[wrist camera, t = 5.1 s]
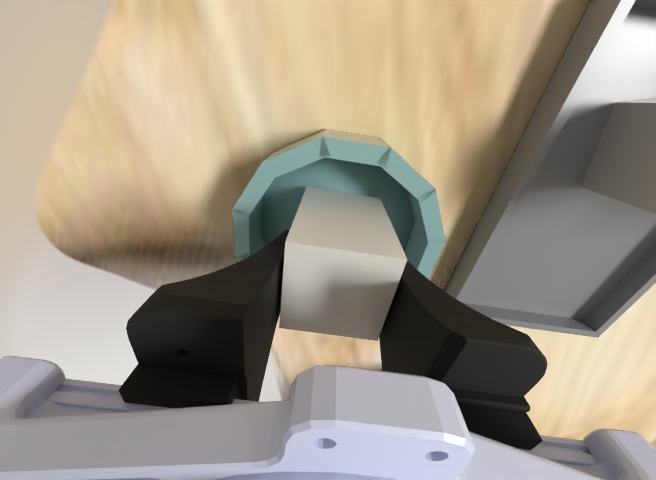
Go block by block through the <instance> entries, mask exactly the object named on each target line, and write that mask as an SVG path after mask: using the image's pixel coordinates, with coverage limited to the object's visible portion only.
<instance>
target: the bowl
mask: <svg viewBox="0 0 656 480" xmlns="http://www.w3.org/2000/svg"><path fill="white" fill-rule="evenodd" d="M306 187H313V188H320V189H326V190H333V191H339V192H345V193H352V194H358V195H365V196H371V197H378V198H380V199H381V201H382V203H383V206H384V208H385V210H386V212H387V215H388V217H389V219H390V221H391V224H392V226H393V228H394V230H395V233H396V235H397V237H398V239H399V242H400V244H401V246H402V249H403V251H404V253H405V255H406V258H407V261H409V262H410V263H411V264H412V265H413V266H414V267H415V268H416V269H417V270H418V271H419V272H420V273H422V274H423V275H424V276H425V277H426V278H427V279H429V277H430V274H431V272H432V270H433V268H434V266H435V263H436V261H437V259H438V257H439V254H440V252H441V250H442V248H443V246H444V243H445V237H444V231H443V226H442V221H441V215H440V210H439V205H438V199H437V194H436V189H435V188H434V187H433V186H432V185H431V184H430V183H428V182H427V181H426V180H425V179H424V178H423V177H422V176H421V175H420V174H419V173H418V172H416V171H415V170H414V169H413V168H412V167H411V166H410V165H409V164H407V163H406V162H405V161H404V160H403V159H402V158H401V157H400V156H399V155H398V154H397V153H396V152H395V151H393V150H392V149H391V147H390V146H389V145H388V144H386V143H385V142H384V141H383V140H382V139H381V138H377V137H371V136H365V135H359V134H353V133H347V132H341V131H335V130H329V129H325V130H322V131H320V132H318V133H316V134H313V135H311V136H309V137H306V138H304V139H302V140H299V141H297V142H295V143H292V144H290V145H288V146H285V147H283V148H281V149H278V150H276V151H275V152H274V153H273V154H271V155H270V156H269V157H268V158H266V159H265V160H264V161H263V162H261V165H260V166H259V168H258V169H257V171H256V173H255V174H254V176H253V177H252V179H251V180H250V182H249V183H248V185H247V187H246V188H245V190H244V191H243V193H242V194H241V196H240V198H239V199H238V201H237V202H236V204H235V205H234V207H233V208H232V219H233V237H234V255H235V257H234V258H235V259H236V260H237V262H240V261H242V260H244V259H246V258H247V257H249V256H251V255H253V254H254V253H256V252H257V251H259V250H260V249H262V248H263V247H265V246H266V245H267V244H269V243H270V242H271V241H273V240H274V239H275V238H276V237H277V236H279V235H280V234H281V233H282V232H283V231H285V230H290V228H291V226H292V223H293V221H294V218H295V215H296V213H297V210H298V208H299V205H300V203H301V200H302V197H303V195H304V192H305V190H306Z"/></svg>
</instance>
